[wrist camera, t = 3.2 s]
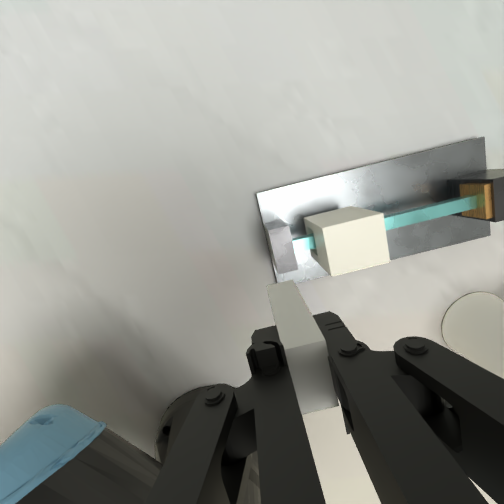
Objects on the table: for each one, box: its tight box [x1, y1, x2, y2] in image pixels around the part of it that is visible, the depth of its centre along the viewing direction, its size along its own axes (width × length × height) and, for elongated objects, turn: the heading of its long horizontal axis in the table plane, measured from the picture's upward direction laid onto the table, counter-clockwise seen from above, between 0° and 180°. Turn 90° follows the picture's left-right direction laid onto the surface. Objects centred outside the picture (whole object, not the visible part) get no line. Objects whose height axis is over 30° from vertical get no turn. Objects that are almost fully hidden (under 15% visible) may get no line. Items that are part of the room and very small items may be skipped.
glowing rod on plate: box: [256, 137, 504, 284], centre depth 32 cm, size 25×11×7 cm, turn 104°
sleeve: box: [304, 206, 390, 277], centre depth 29 cm, size 5×4×7 cm
